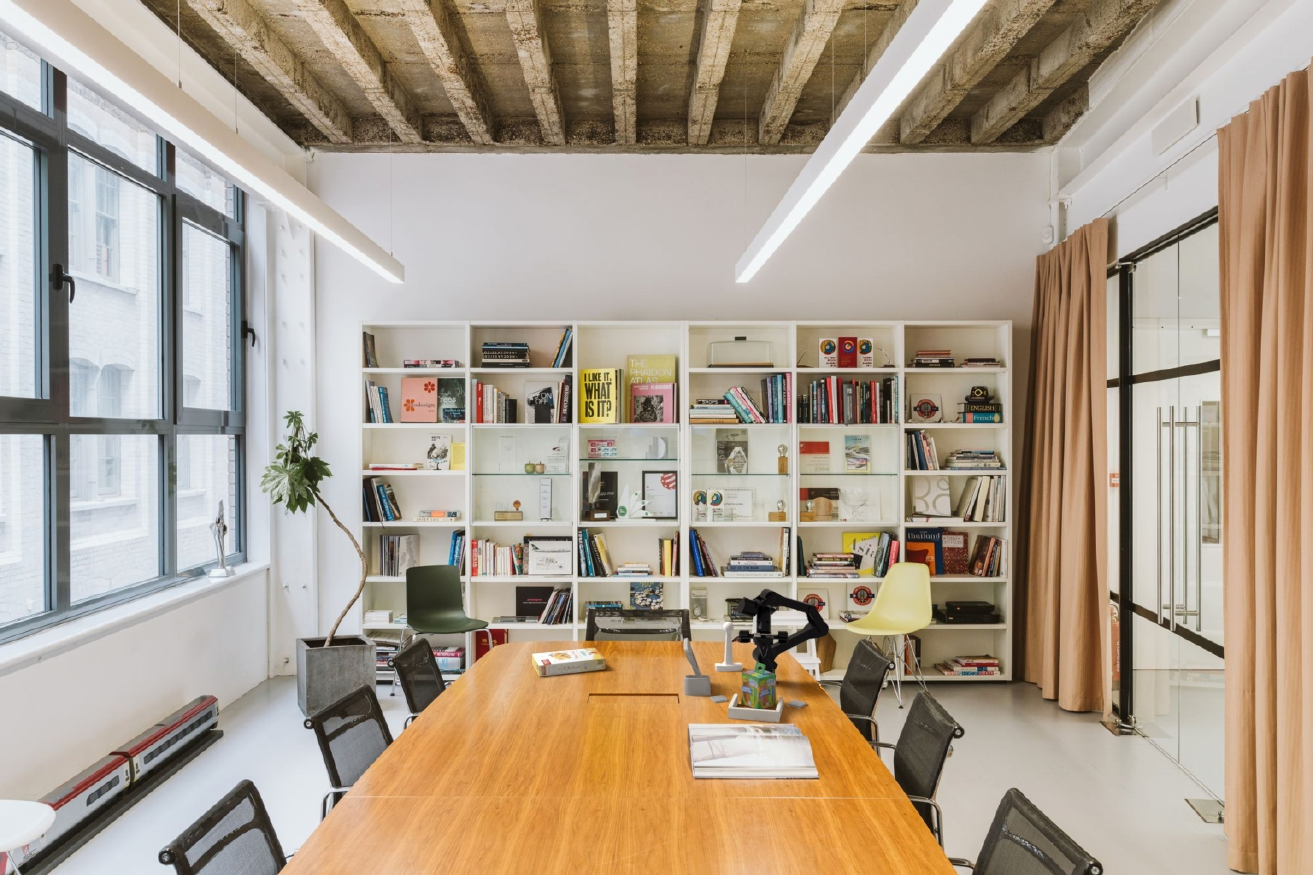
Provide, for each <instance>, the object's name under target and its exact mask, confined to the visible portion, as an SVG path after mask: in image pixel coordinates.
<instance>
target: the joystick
mask: <svg viewBox="0 0 1313 875" xmlns="http://www.w3.org/2000/svg"><path fill="white" fill-rule="evenodd" d="M734 628H735V627H734V624H733V622H732V621H726V622H724V623H723V626H722V629H723V631H724V632H725V639H724V640H725V641H724V661H722V663H719V662H718V663H717V662H715V663H714V669H715V672H723V673H725V672H727V673H728V672H740V671H741V672H742V671H743V663H742V662H734V657H733V656H734V654H733V642H732V641H733V640H732V632H733V631H734Z"/></svg>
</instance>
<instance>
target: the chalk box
mask: <svg viewBox="0 0 1313 875" xmlns="http://www.w3.org/2000/svg"><path fill="white" fill-rule="evenodd" d="M759 666H760V667H762V669H758V667H759ZM776 681H777V674H776V673H775V674H774V673H771V672H769V671H766V670H765V665H764V664H761V663H757V662H755V666H754V669H752V670H747V671H744V672H741V699H740V700H741V703H740V704H741V705H744V706H746V707H747V708H750V709H763V710H767V709H770V708H773V707H777V683H776Z"/></svg>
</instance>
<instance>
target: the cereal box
mask: <svg viewBox="0 0 1313 875" xmlns="http://www.w3.org/2000/svg"><path fill="white" fill-rule="evenodd" d="M531 661H532V662H531V665H532V666H533V668H534V670H535V671H536V673H537V675H538V677H549V676H550V677H551V676H558V675H559V676H560V675H566V674H575V673H583V672H593V671H601V670H606V666H607V664H606V662H607V661H606V657H605V656H604V655H603V654H602V653H601V652H600V651H599V650H598V649H597V648H596V647H588V648H578V649H567V650H557V651H548V652H539V653H538V652H537V653H531Z"/></svg>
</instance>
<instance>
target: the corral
mask: <svg viewBox="0 0 1313 875" xmlns="http://www.w3.org/2000/svg"><path fill="white" fill-rule="evenodd" d="M733 694H734V695H732V698H731V700H730V702H729V705H728V707H727V718H728V719H733V720H744V721H746V720H747V721H758V722H769V723H780V720H781V717H782V712H783V711H784V710H783V708H784V696H780V697H779V698H778V701H777V704H776V708H775V710H773V709H753V708H751V707H737V706H738V704H739V696H738V695H739V694H738V693H733Z"/></svg>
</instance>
